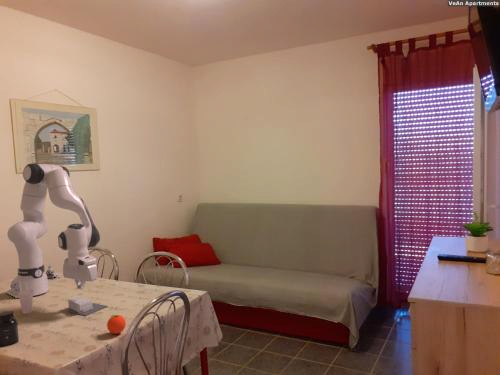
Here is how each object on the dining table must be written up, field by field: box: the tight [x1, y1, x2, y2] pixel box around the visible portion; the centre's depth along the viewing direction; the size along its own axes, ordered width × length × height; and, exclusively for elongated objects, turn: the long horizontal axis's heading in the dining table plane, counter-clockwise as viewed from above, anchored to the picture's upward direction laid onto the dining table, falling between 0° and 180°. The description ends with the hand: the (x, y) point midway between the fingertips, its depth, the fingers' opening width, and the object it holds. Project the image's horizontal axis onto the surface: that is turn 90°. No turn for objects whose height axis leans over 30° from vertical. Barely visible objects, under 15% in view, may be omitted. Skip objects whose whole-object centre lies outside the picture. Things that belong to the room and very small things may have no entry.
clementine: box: [106, 314, 127, 335], centre depth 152 cm, size 8×7×7 cm
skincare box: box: [67, 295, 93, 313], centre depth 180 cm, size 6×4×12 cm
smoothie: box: [18, 282, 34, 314], centre depth 179 cm, size 6×6×14 cm
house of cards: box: [45, 264, 59, 279], centre depth 241 cm, size 9×9×8 cm
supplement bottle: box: [0, 310, 20, 348], centre depth 146 cm, size 7×7×12 cm
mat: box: [66, 302, 108, 317], centre depth 180 cm, size 13×12×1 cm
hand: (80, 288), depth 181 cm, fingers closed
